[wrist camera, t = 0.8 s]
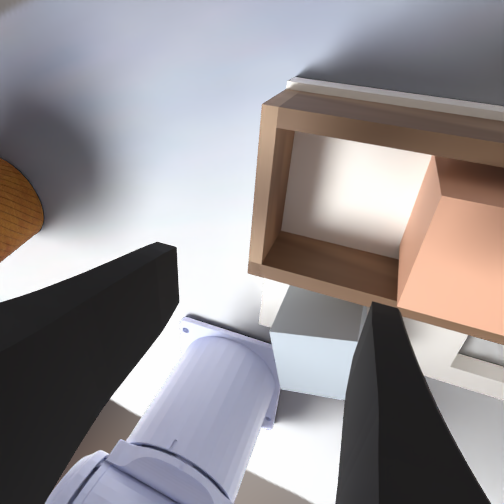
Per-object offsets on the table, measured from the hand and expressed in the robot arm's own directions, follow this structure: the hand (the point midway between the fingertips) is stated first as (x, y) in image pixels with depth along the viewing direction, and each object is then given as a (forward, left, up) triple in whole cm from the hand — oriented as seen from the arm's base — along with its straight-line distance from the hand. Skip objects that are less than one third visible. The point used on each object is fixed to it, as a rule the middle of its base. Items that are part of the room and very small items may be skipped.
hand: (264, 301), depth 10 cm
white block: (-7, -2, -9) cm, 12 cm away
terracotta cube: (0, -6, -9) cm, 11 cm away
